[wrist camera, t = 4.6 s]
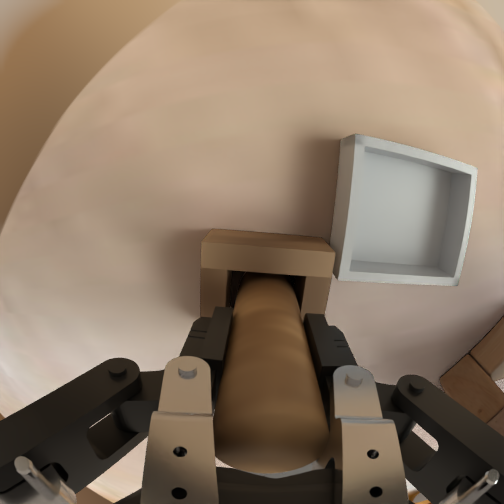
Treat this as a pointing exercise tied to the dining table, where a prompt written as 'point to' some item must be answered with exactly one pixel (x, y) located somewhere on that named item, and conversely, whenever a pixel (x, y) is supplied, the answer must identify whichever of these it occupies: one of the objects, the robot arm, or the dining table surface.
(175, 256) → the dining table surface
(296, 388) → the dowel
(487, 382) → the tan angled wooden part
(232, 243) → the socket block
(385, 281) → the tray
